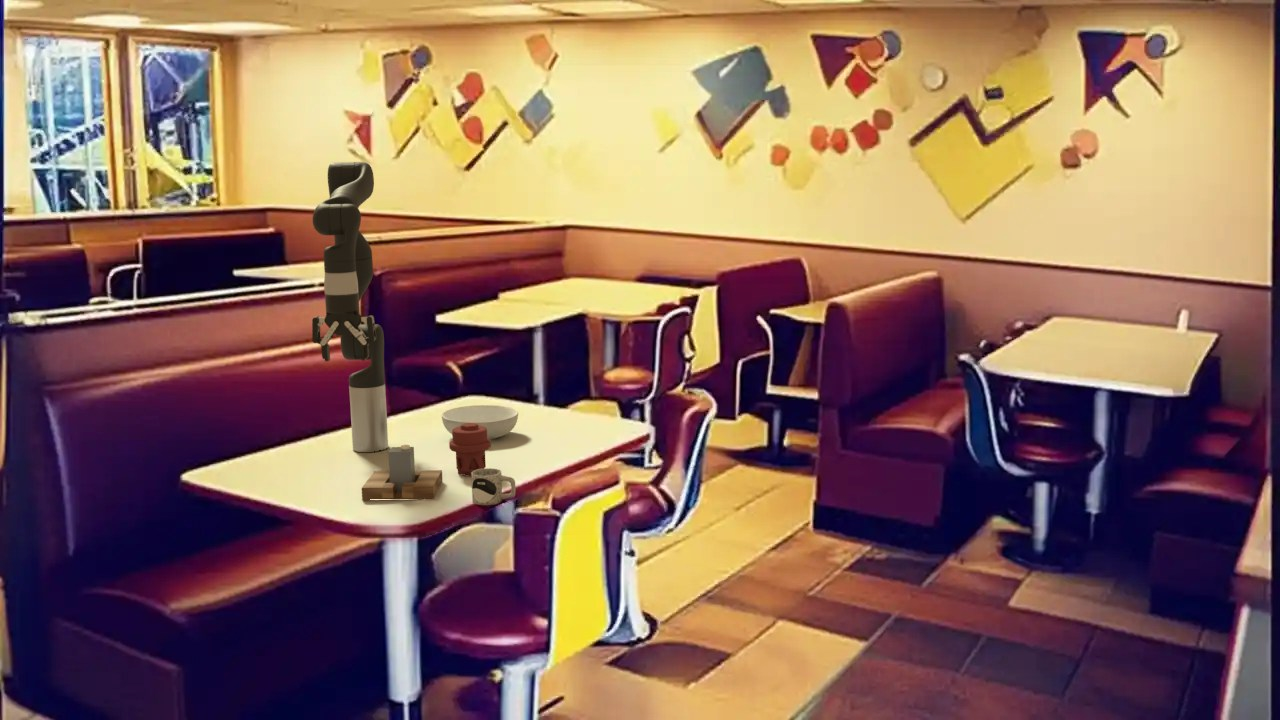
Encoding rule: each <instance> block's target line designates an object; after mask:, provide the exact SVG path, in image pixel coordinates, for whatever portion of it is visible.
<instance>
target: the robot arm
mask: <svg viewBox="0 0 1280 720" xmlns="http://www.w3.org/2000/svg"><path fill="white" fill-rule="evenodd" d="M327 186H328V194H329V198H328V199H325V200H324V201H322V202H320V203H319V204H317V206H315V209H314V211H313V214H312V225H313V228H314V230H315V231H316V232H317V233H318V234H320V235H322V236H334V237H333V239H334V245H330V246H327V247H325V248H324V250H323V265H324V266H323V269H324V280H323V281H324V283H323V285H324V287H323V292H324V302H325V317H323V316H322V317H321V316H319V315H317V316H316V315H315V317H313V318H312V320H311V322H312V324H311V325H312V327H311V328H312V334H311V335H312V336H311V337H312V338H311V339H312V343H314V344H318V345H319V346H321V347H320V348H321V357H322V359H323V360H324V361H325V362H330V361H331V352H330V350H331V349H330V344H329V342H330V340H331V339H332V338H333V337H334V335H335V336H340V350H341V355H342V356H343V358H344V359H345V360H349V361H350V360H351V361H352V360H353V361H354V360H355V361H356V360H357V361H359V360H360V361H362V362H365V361H366V360H370V364H369V365H368V366H367V367H365V368H363V369H361V370H358V371H356V372H353V373H351V374H350V375H348V376H349V377H348V388H349V389H348V390H349V403H350V405H349V406H350V420H351V423H350V425H351V438H352V442H351V443H352V450H353V451H354V452H360V453H374V451H375V452H380V451H379V450H381V451H384V450H386V448H387V447H388V448H389V439H388V437H389V434H388V415H387V413H388V412H387V397H386V396H387V395H386V379H385V337H384V336H385V335H384V330H383V328H382V326H381V325H380V324H378V323H377V324H376V323H375V322H376V321H375V316H374V315H372V314H371V315H368V316H362V315H361V313H360V300H362V298H363V296H364V293H365V292H366V291H367V289H368V287H369V285H370V284H371V281H372V278H373V276H374V264H373V251H372V248H371V245H370V244H369V242H368V240H367V239H366V238H365V236H364V235H363V234H362V233H361V231H360V227H361V221H362V215H361V211H360V209H359V207H361V205H362V204H363V203H365V202H366V201H367V200H368V199H369V198H370V197H371V196H372V195H373V193H374V187H375V178H374V171H373V168H372V166H371V165H370V164H369V163H367V162H365V161H342V162H341V161H338V162H337V161H336V162H332V163H330V164H329V165H328V167H327ZM362 322H363V324H361V323H362ZM324 323H325V324H326V326H327V327H328V328H329V329H328V330H327V332H326V334H325V335H324V336H323V337H321V327H322V326H323V324H324ZM388 448H387V449H388ZM383 449H384V450H383Z"/></svg>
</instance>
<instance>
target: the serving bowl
mask: <svg viewBox="0 0 1280 720" xmlns="http://www.w3.org/2000/svg"><path fill="white" fill-rule="evenodd" d="M518 416H519V411H518V410H517V409H515V408H513V407H510V406H507V405H506V406H505V405H494V404H476V405H475V404H474V405H464V406H459V407H453V408H450V409H447V410H445V411H443V412H442V414H441V421H442V424H443V426H444V428H445V429H446V431H447V432H449V434H451V435H452V429H454V428H456V427H459V426H461V425H462V424H465V423H476V424H477V425H480V426H484V427H486V428H487V438H488V439H491V440H494V439H496V438H500V437H504V436H505V435H508V434H509V433H510V432H512V431H513V429H514V428H515V427H516V425H517V422H518ZM493 438H494V439H493Z"/></svg>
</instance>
